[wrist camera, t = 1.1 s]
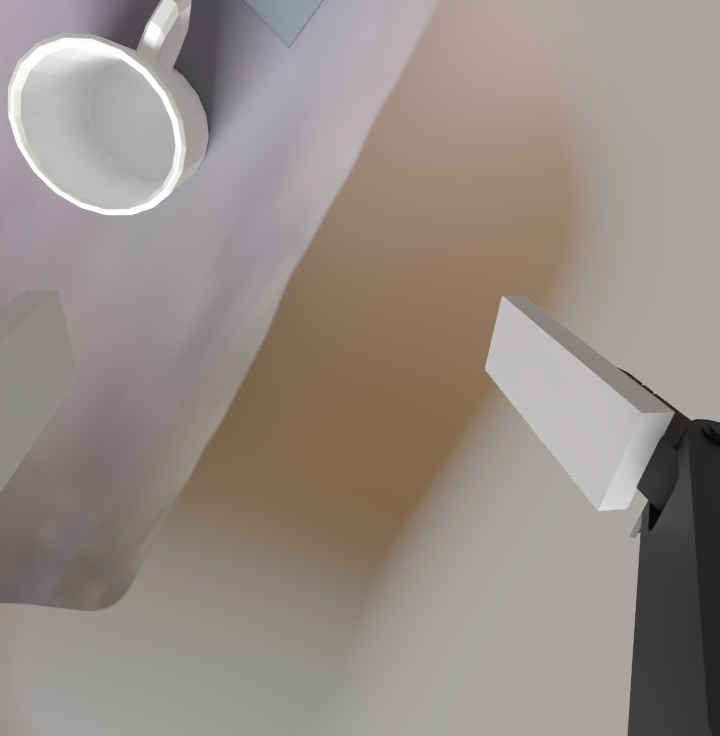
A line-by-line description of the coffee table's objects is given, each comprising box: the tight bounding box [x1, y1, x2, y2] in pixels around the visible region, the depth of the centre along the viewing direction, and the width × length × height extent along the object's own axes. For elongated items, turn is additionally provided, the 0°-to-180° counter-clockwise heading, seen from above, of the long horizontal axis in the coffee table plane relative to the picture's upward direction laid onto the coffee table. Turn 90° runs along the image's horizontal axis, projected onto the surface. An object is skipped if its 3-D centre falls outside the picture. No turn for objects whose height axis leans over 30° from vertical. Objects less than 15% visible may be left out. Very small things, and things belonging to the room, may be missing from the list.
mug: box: [8, 0, 209, 215], centre depth 27 cm, size 8×12×10 cm
